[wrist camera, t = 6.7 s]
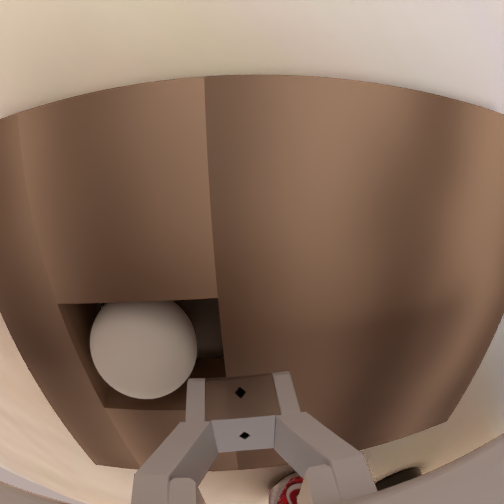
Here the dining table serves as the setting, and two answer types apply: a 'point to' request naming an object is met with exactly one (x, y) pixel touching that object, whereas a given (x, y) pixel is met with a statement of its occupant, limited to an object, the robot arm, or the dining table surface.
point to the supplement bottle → (398, 478)
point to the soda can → (286, 490)
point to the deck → (258, 247)
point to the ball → (143, 347)
